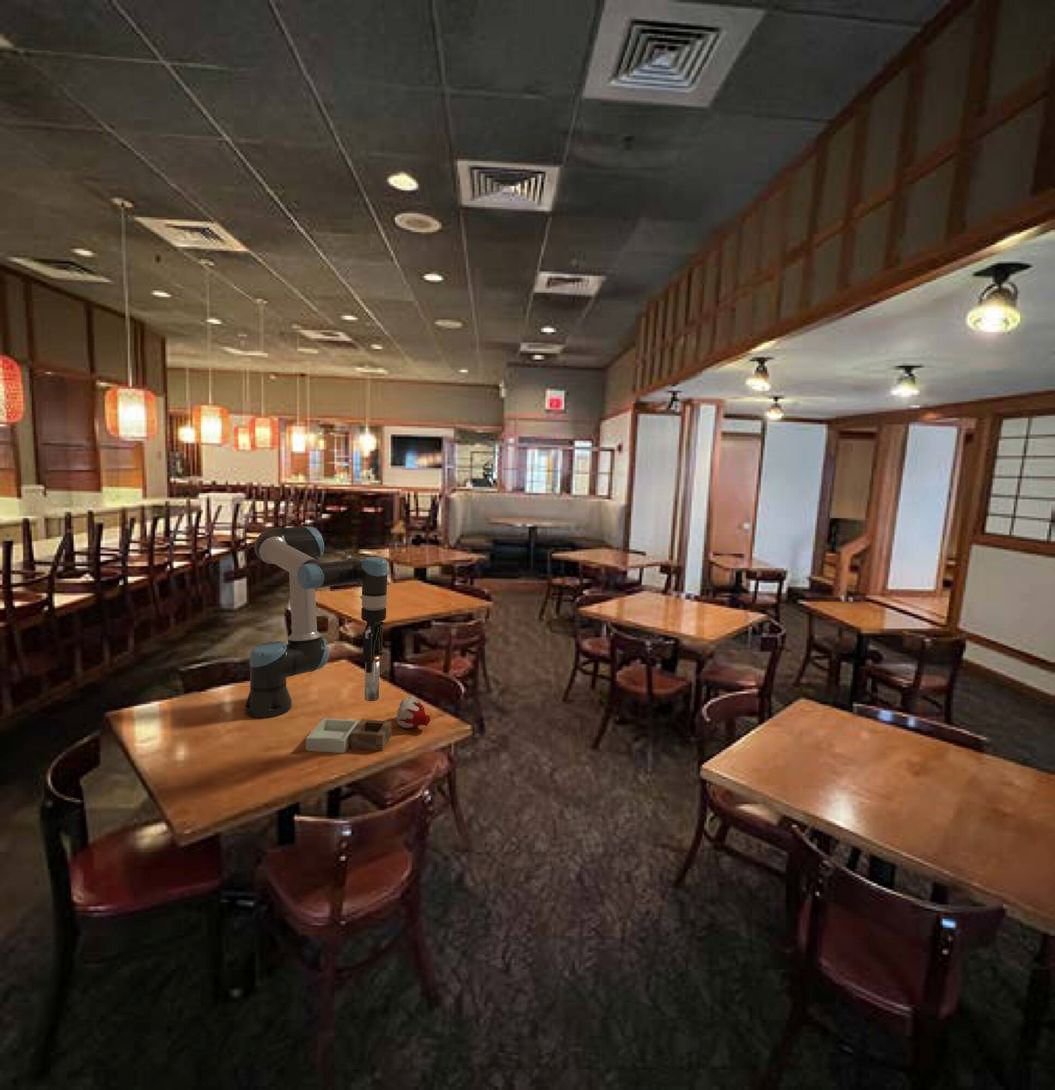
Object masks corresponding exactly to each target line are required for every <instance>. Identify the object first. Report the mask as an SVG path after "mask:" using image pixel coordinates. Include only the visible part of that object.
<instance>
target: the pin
mask: <svg viewBox="0 0 1055 1090" xmlns="http://www.w3.org/2000/svg"><path fill="white" fill-rule="evenodd" d="M374 662H375V673H374V682H365V681H364V701H366V702H376V701H378V700H379V699H380V677H381V676H380V675H381V673H380V671H381V670H380V669H381V668H380V666H381V655H378V654H374Z"/></svg>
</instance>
